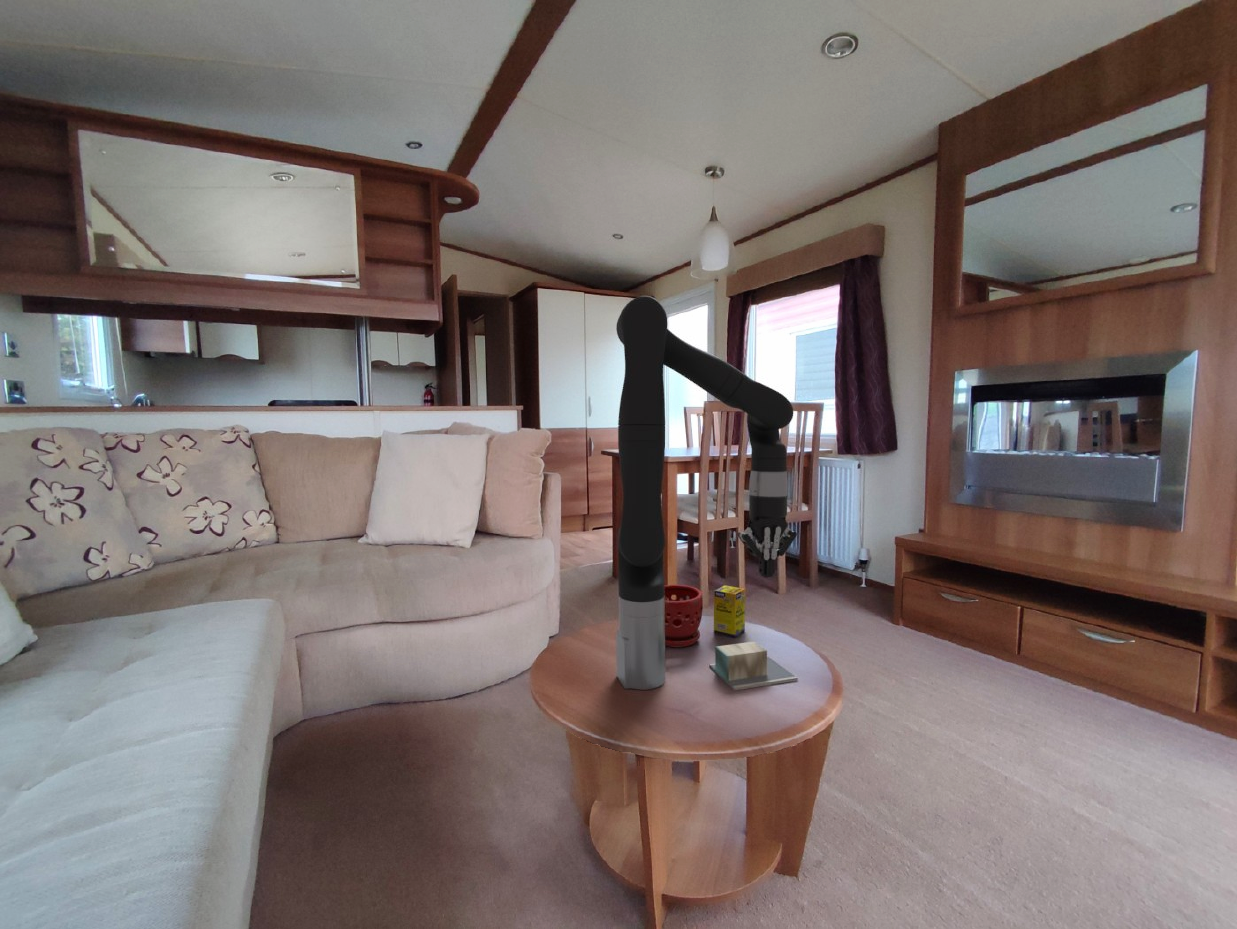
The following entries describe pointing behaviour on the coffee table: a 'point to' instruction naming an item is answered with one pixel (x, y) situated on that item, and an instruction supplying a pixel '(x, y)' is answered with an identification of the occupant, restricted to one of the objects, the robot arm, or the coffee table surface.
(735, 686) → the felt mat
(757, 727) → the coffee table surface
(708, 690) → the coffee table surface
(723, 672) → the birch block
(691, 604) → the plant pot
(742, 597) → the supplement box
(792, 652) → the coffee table surface
